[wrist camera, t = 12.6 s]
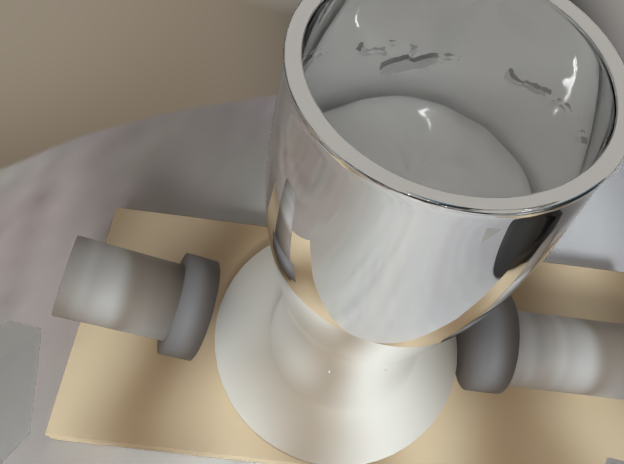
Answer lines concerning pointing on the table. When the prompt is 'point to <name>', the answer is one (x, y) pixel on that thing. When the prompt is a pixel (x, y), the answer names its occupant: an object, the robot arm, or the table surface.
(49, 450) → the table surface
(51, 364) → the table surface
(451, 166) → the beer glass
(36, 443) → the table surface
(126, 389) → the shaft cradle
